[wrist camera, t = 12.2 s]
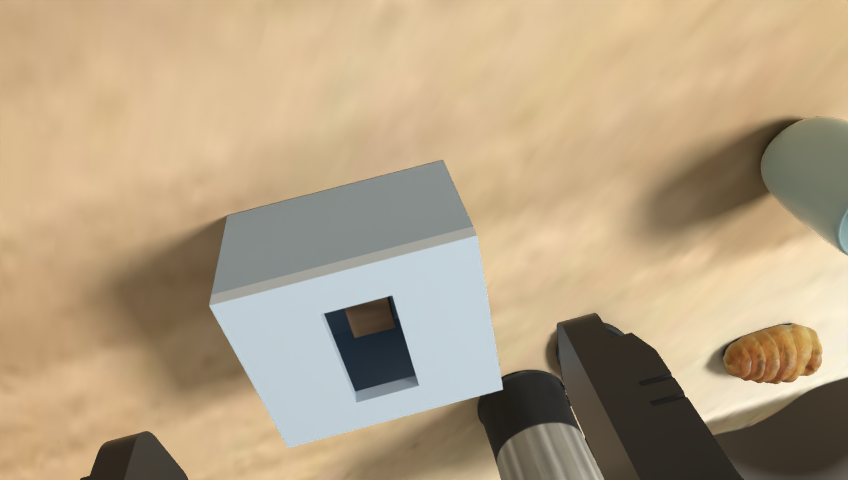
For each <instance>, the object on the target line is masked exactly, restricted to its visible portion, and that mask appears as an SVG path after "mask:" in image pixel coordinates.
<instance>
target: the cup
mask: <svg viewBox="0 0 848 480" xmlns="http://www.w3.org/2000/svg"><path fill="white" fill-rule="evenodd" d="M761 175H762V179H763V182H764V183H765V185H766V187H767V189H768V191H769V192H770V193H771V195H772V196H773V197H774V198H775V199H776V200H777V201H778V202H779V203H780V204H781V205H782V206H783V207H784V208H785V209H786V210H787V211H788V212H789V213H790V214H791V215H793V216H794V217H795V218H796V219H797V220H799V221H800V222H801V223H802V224H804V225H805V226H806V227H807V228H809V229H810V230H811V231H813V232H814V233H815V234H817V235H818V236H819V237H821V238H822V239H823V240H825V241H826V242H827V243H829V244H830V245H831V246H833V247H834V248H836V249H837V250H839V251H840V252H842V253H844V254H846V255H848V121H846V120H843V119H839V118H834V117H823V116H816V117H810V118H806V119H803V120H800V121H798V122H796V123H794V124H792V125H790V126H788V127H787V128H785V129H784V130H783V131H781V132H780V133H779V134H778V135H777V136H776V137H775V138H774V139H773V140H772V141H771V142H770V144H769V145H768V147H767V148H766V150H765V152H764V154H763V156H762V161H761Z"/></svg>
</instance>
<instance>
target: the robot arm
mask: <svg viewBox="0 0 848 480" xmlns="http://www.w3.org/2000/svg"><path fill="white" fill-rule="evenodd" d="M557 335H558V344H559V353H560V363H561V372H562V378H563V383H564V386H565V390H566V393H567V396H568V399H569V401H570V404H571V406H572V409H573V411H574V413H575V415H576V417H577V420H578V422H579V424H580V426H581V429H582V431H583V433H584V435H585V437H586V440H587V442H588V444H589V446H590V448H591V451H592V453H593V455H594V457H595V460H596V462H597V464H598V466H599V468H600V471H601V473H602V475H603V477H604V480H744V479H743V478H742V477H741V476H740V475H739V473H738V472H737V471H736V469H735V468H734V466H733V465H732V463H731V462H730V460H729V459H728V458H727V456H726V454H725V453H724V451H723V450H722V449H721V447H720V445H719V444H718V442H717V441H716V439H715V438H714V436H713V435H712V433H711V432H710V430H709V429H708V427H707V426H706V424H705V423H704V421H703V420H702V418H701V417H700V415H699V414H698V412H697V411H696V409H695V408H694V406H693V405H692V403H691V402H690V400H689V399H688V397H685V395H684V391H683V390H682V388H681V387H680V385H679V384H678V382H677V381H676V379H675V378H673V377H672V375H671V372H670V370H669V369H668V367H667V366H666V365H665V363H664V362H663V360H662V359H661V357H660V356H659V354H658V353H657V351H656V350H655V349H654V348H652V347H651V346H650V345H648V344H647V343H645V342H644V341H643V340H641V339H640V338H638V337H637V336H635V335H634V334H633V333H629V334H625V335H621V336H618V337H614V338H612V337H611V335H610V333H609V332H608V330H607V328H606V327H605V325H604V323H603V322H602V320H601V319H600V317H599V316H598V315H597V314H596V313H593V314H589V315H585V316H581V317H578V318H574V319H570V320H566V321H563V322H559V323H557ZM80 480H188V478H187V476H186V474H185V473H184V471H183V470H182V469H181V468H180V466H179V465H178V464H177V463H176V461H175V460H174V459H173V458H172V457H171V455H170V454H169V453H168V452H167V450H166V449H165V448H164V447H163V445H162V444H161V443H160V442H159V441H158V439H157V438H156V437H155V436H154V435H153V434H152V433H151V432H148V431H145V432H141V433H137V434H134V435H130V436H126V437H122V438H119V439H115V440H111V441H108V442H106V443H104V444H103V445H102V446H101V448H100V450H99V452H98V454H97V457H96V460H95V463H94V465H93V468H92V471H91V474H90V476H87V477H83V478H81V479H80Z"/></svg>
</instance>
